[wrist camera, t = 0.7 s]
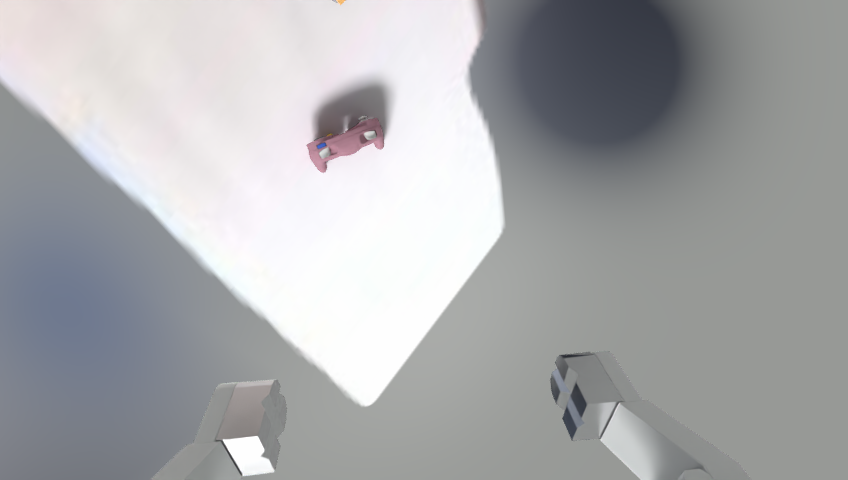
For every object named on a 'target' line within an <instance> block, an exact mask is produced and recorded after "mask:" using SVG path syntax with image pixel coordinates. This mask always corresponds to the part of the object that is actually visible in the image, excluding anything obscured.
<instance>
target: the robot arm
mask: <svg viewBox="0 0 848 480" xmlns="http://www.w3.org/2000/svg"><path fill="white" fill-rule="evenodd" d="M555 364H556V366H557V369H555V370H554V371H553V372H552V374H551V378H550V383H551V391H552V395H553V398H554V400H555V403H556V404H557V405H558V406H559V407H560V408H562V409H563V410H564V414H563V418H562V419H563V421H564V424H565V426H566V428H567V430H568V433H569V435H570V437H571V440H572V441H577V440H590V439H601V440H600V441H602V442H603V443H604V444H605V445H606V446H607V447H608V448H609V449H610V450H611V451H612V452H613V453H614V454H615V455H616V456H617V457H618V458H619V459H620V460H621V461H622V462H623V463H624V464H625V465H626V466H627V467H628V468H629V469H630V470H631V471H632V472H633V473H634V474H636V475H637V476H638V477H639V478H640V479H641V480H751V478H750V477H749V476H748V474H747V473H746V472H745V470H744V469H743V468H742V466H741V465H740V464H739V463H738V462H736V461H735V460H734V459H732V458H731V457H729V456H728V455H727V454H725V453H724V452H722V451H721V450H719V449H718V448H716V447H715V446H714V445H712V444H711V443H709V442H708V441H706V440H705V439H703V438H702V437H700V436H699V435H698V434H696V433H695V432H693V431H692V430H690V429H689V428H688V427H686V426H685V425H683V424H682V423H680V422H679V421H677V420H676V419H675V418H673V417H672V416H670V415H669V414H667V413H666V412H664V411H663V410H662V409H660V408H659V407H657V406H656V405H654V404H653V403H651V402H650V401H648V400H642V398H641V397H640V395H639V394H638V392H637V391H636V389H635V388H634V386H633V385H632V383H631V382H630V380H629V378H628V377H627V375H626V374H625V372H624V371H623V369H622V368H621V366H620V365H619V363H618V362H617V360H616V358H615V357H614V356H613V354H612V353H611V352H610V351H599V352H584V353H574V354H565V355H559V356H558V357H557V358H556V361H555ZM279 390H280V384H279V382H278V380H264V381H250V382H234V383H222V384H219V385H218V387H217V388H216V389H215V391H214V393H213V396H212V398H211V401H210V403H209V405H208V408H207V410H206V412H205V415H204V417H203V420H202V422H201V425H200V427H199V430H198V432H197V434H196V437H195V439H194V441H193V444H187V445H186V446H185V447H184V448H182V449H181V450H180V451H179V452H178V453H177V454H176V455H175V456H174V457H173V458H172V459H171V460H170V461H169V462H168V463H167V464H166V465H165V466H164V467H163V468H162V469H161V470H160V471H159V472H158V473H157V474H156V475H155V476H154V477H152V478H151V479H150V480H242V476H247V475H256V474H263V473H271V472H275V469H276V464H277V460H278V455H279V451H280V444H279V442H278V439H277V438H278V437H279V435H280V434H281V433H282V432H283V431H284V428H285V423H286V413H287V407H286V401H285V398H284V396H283V395H281V394H280V393H279Z"/></svg>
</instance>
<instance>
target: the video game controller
mask: <svg viewBox="0 0 848 480" xmlns="http://www.w3.org/2000/svg"><path fill="white" fill-rule="evenodd" d="M366 117H367V116H361V117H360V118H359V119H358V120H361V121H360V122H359V123H358V124H357V125H356V126H354V127H353V128H351V129H349V130H347V131H346V133H343V134H341V135H339V134H336V135H332V134H328V135H327V136H326V137H321V138H318V139H316V140H314V142H311V143H309V144H307V147H308V150H309V155H310V158H311V160H312V162H313V163H314V165H315V166H316V167H317V169H318V170H319V171H320V172H322V173H324V172H326V169H327V165H326V161H328V160H332V159H334V158H337V157H339V156H347V155H351V154H354V153H355V152H357V151H358V150H360V149H361V148H362V147H364V146H367V145H369V144H371V143H373V142H374V144H375V146H376V147H377V148H378V149H380V150H381V149H383V147H384V138H383V131H382V128H381V125H380V123H379V121H378V119H377V118H374V119H365V118H366Z"/></svg>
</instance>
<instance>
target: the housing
mask: <svg viewBox="0 0 848 480" xmlns="http://www.w3.org/2000/svg"><path fill="white" fill-rule="evenodd" d="M333 1H334V2H336V3H338V4H340V5H341V4H342V3H343V2H344V1H345V0H333Z"/></svg>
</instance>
